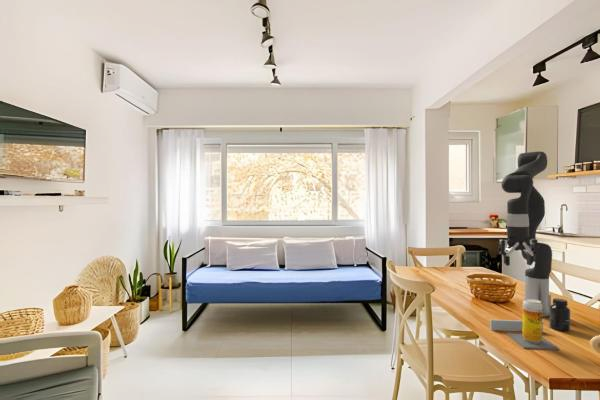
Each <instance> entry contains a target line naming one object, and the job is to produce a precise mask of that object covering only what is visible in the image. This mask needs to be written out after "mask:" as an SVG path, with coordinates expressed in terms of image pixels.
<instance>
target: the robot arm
mask: <svg viewBox="0 0 600 400" xmlns="http://www.w3.org/2000/svg"><path fill="white" fill-rule="evenodd" d="M547 166H548V155H547V154H546V153H545V152H544V151H538V150H537V151H529V152H521V153H519V154H518V156H517V169H516V170H515V171H513V172H511V173H509V174H507V175H505V176H504V177H503V179H502V181H501V188H502V190H503V191H504V192H505V193H507V194H508V193H509V194H520V196H519V197H514V198H511V199H508V201H507V202H506V203H507V205H506V206H507V207H506V208H507V209H506V210H507V211H506V214H507V215H506V236H507V237H506V239H502V238H501V239H500V238H499V240H498V247H497V248H498V250H497V251H498V254H499V255H502V256H503V264H504V265H505V266H510V265H511V262H510V259H511V258H510V255H511V254H512V253H514V251H521V256H522V258H523V259H524V260H525V261H526V265H528V266H532V265H533V263H534V267H532V268H526V269H525V271H524V274H525V275H524V299H535V300H539V301H541V304H542V318H543V317H544V318H545V317H550V306H551V305H552V295H551V294H550V274H551V272H552V261H553V251H552V247H551V246H550V245H549V244H547V243H543V242H539V241H538V239H537V237H536V235H537V230H538V228H539V226H540V224H541V222H542V221H543V220H544V217H545V214H546V206H545V204H546V203H545V199H544V197H543V195H541V193H540V192H539V191H538V190H537V188H535V186H534V180H533V179H534V178H535V177H537V175H539V174H540V173H542V172H544V171H545V170H546V168H547Z"/></svg>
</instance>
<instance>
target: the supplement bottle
mask: <svg viewBox="0 0 600 400" xmlns="http://www.w3.org/2000/svg"><path fill="white" fill-rule="evenodd" d="M549 327H550V328H551V329H552V330H556V331H558V332H569V331H571V309H570V307H568V300H567V299H564V298H553V299H552V304H551V306H550V316H549Z"/></svg>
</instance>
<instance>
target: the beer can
mask: <svg viewBox="0 0 600 400" xmlns="http://www.w3.org/2000/svg"><path fill="white" fill-rule="evenodd" d="M522 321H523V329H522V331H521V332H522V333H521V334H522V337H523V338H524V340H526V341H528V342H531V343H540V342H541V341H542V337H543V332H542V322H543V317H542V304H541V301H539V300H535V299H525V298H524V299H523V301H522Z"/></svg>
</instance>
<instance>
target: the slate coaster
mask: <svg viewBox="0 0 600 400" xmlns="http://www.w3.org/2000/svg"><path fill="white" fill-rule="evenodd" d="M506 336H508V337H509V338H510V339H511V340H513V341H514V342H515V343H516V344H518V345H519V346H520V347H521V348H523V349H525V350H526V349H528V350H547V351H548V350H549V351H560V347H558V346H557V345H555V344H553V342H551V341H549V340H548V339H547V338H545V337H544V336H542V341H541V342H540V343H531V342H528V341H526V340H524V338H523V337H522V333H508V332H507V333H506Z"/></svg>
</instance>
